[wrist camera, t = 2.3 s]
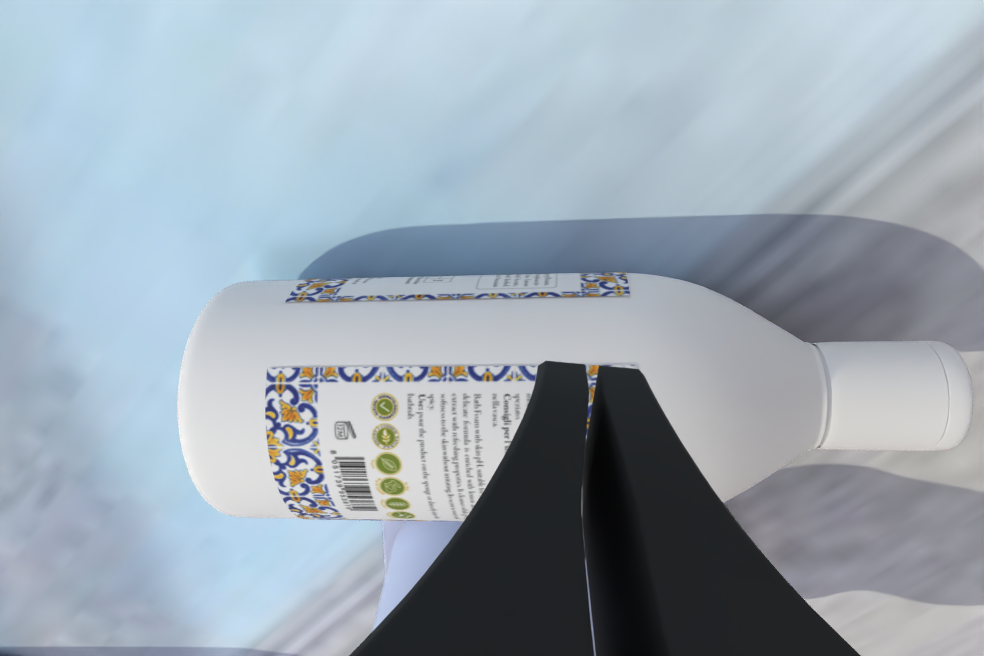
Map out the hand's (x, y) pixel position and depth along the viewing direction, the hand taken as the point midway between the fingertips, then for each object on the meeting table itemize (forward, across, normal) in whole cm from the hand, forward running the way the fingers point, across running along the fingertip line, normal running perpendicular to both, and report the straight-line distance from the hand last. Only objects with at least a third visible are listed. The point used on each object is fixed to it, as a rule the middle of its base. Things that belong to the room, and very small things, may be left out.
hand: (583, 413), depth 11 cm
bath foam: (+7, +10, +7) cm, 14 cm away
